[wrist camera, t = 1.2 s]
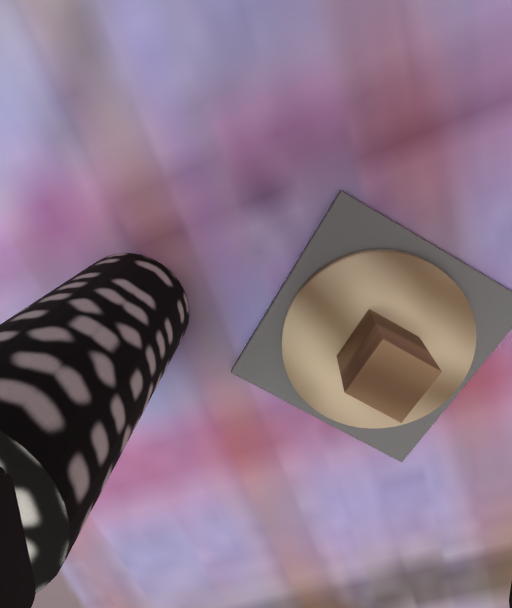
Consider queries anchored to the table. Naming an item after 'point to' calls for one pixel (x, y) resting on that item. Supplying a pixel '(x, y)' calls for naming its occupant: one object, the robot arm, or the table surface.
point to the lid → (378, 339)
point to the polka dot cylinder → (81, 391)
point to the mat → (353, 238)
